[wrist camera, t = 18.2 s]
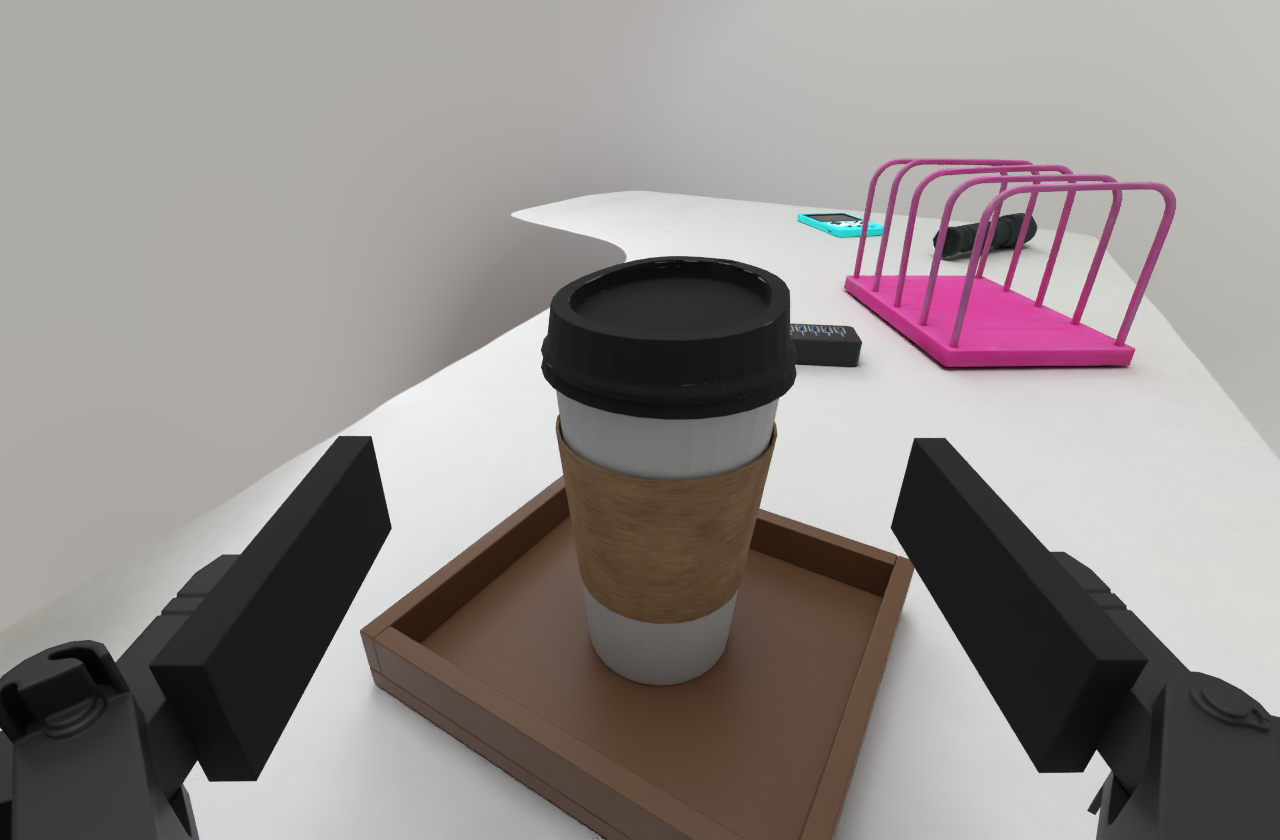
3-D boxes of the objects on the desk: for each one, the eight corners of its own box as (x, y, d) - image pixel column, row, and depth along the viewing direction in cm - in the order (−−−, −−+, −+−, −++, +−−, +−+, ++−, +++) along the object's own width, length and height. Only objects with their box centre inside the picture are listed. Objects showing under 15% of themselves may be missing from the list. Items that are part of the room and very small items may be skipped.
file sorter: (943, 370, 54) (994, 180, 47) (842, 290, 76) (866, 152, 69) (1130, 367, 55) (1208, 181, 48) (977, 289, 77) (1014, 153, 70)
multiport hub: (858, 367, 55) (863, 342, 53) (734, 361, 55) (736, 336, 54) (848, 348, 58) (852, 325, 57) (732, 343, 59) (734, 320, 58)
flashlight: (1032, 247, 99) (1042, 215, 97) (956, 262, 89) (965, 227, 87) (1002, 241, 103) (1011, 210, 100) (926, 255, 93) (934, 221, 90)
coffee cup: (790, 613, 27) (848, 277, 20) (689, 760, 21) (722, 353, 14) (637, 539, 32) (641, 242, 24) (517, 644, 25) (476, 289, 18)
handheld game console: (837, 237, 104) (838, 229, 103) (795, 220, 118) (796, 212, 117) (889, 235, 106) (891, 227, 106) (842, 218, 120) (843, 211, 119)
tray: (373, 683, 25) (358, 630, 23) (593, 494, 37) (592, 452, 35) (794, 967, 17) (809, 912, 16) (902, 610, 29) (916, 560, 27)
